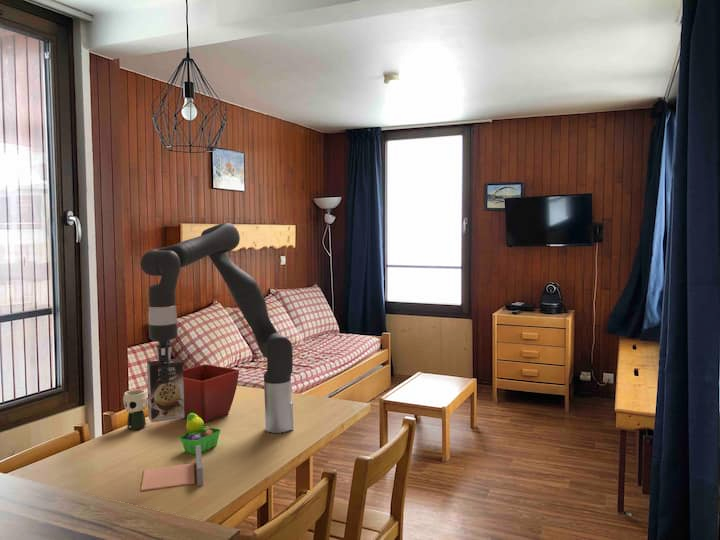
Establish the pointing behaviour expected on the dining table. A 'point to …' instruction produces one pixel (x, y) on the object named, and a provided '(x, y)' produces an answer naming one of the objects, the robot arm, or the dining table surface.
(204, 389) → the plant pot
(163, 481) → the mat
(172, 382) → the coffee box
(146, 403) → the character mug
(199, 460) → the low wall
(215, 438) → the fruit basket
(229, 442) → the dining table surface
